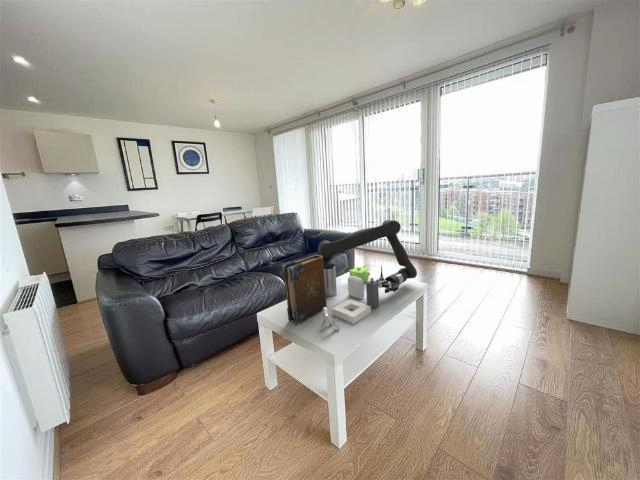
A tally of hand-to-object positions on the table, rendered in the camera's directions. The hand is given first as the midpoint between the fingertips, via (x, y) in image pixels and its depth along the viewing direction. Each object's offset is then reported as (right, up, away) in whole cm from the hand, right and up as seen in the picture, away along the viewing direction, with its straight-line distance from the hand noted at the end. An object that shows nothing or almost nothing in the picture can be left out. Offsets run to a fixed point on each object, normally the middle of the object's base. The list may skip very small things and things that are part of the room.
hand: (378, 289), depth 141 cm
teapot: (-5, -2, +33) cm, 34 cm away
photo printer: (-11, -7, +12) cm, 17 cm away
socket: (-16, -11, -8) cm, 21 cm away
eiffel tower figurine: (+9, -2, +29) cm, 31 cm away
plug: (-4, -9, -2) cm, 10 cm away
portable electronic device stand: (-27, -15, -18) cm, 36 cm away
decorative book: (-38, -12, -4) cm, 40 cm away
